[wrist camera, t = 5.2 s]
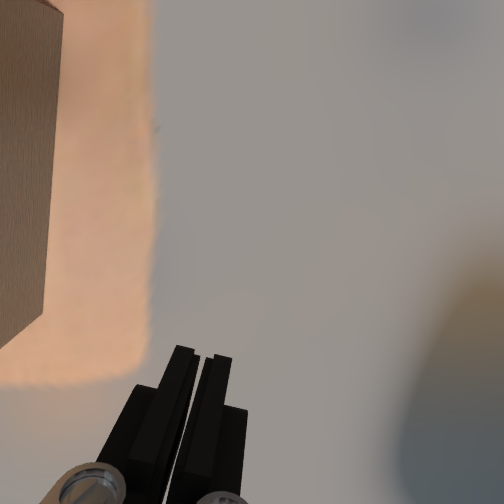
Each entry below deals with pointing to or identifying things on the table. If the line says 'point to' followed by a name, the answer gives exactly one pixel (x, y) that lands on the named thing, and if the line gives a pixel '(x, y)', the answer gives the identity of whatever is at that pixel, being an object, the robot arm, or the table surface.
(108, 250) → the table surface
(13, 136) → the long flat gray bar
